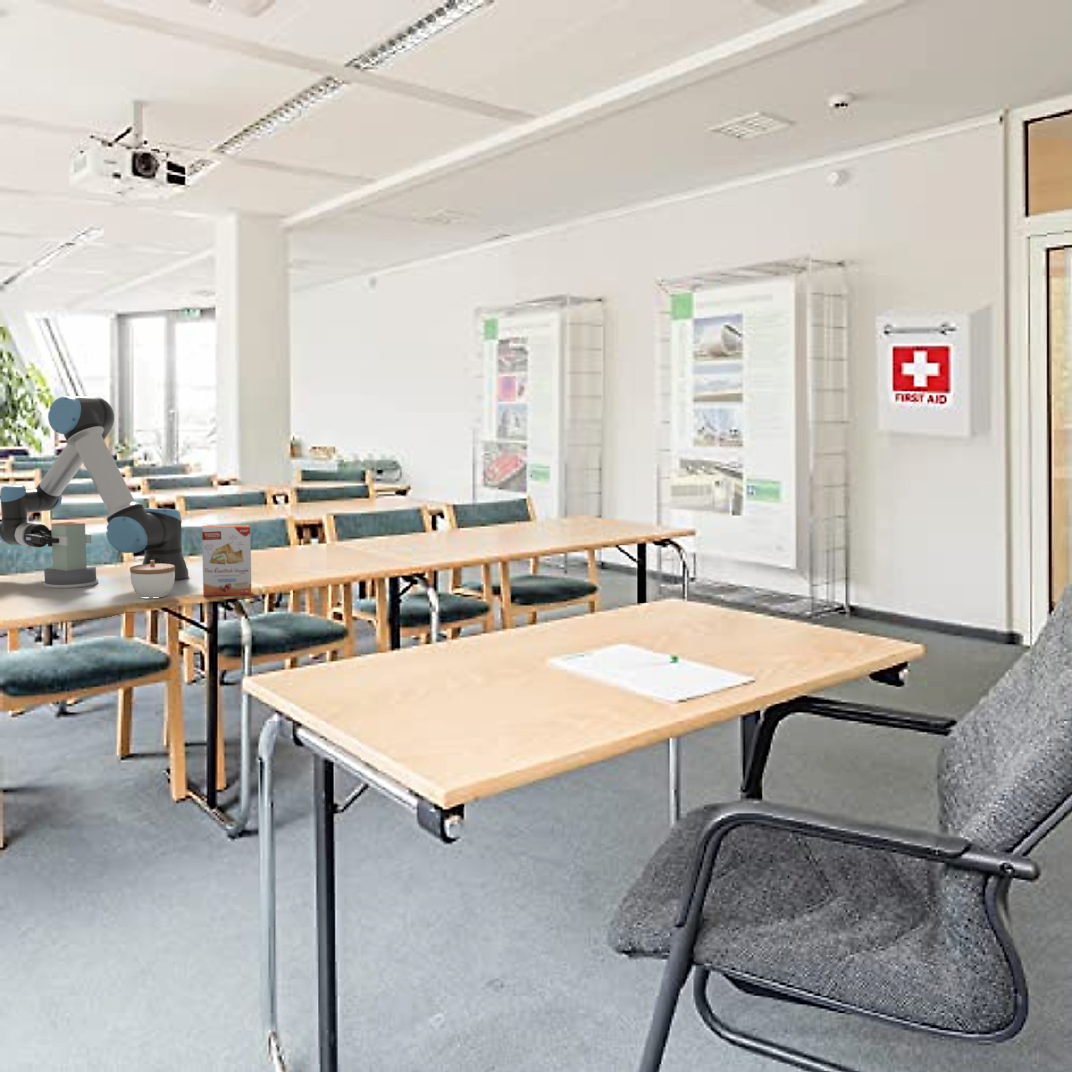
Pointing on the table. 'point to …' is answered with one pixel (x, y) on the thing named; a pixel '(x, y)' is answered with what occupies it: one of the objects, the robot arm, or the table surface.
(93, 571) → the podium
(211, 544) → the cracker box
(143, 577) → the lidded bowl
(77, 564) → the carton
